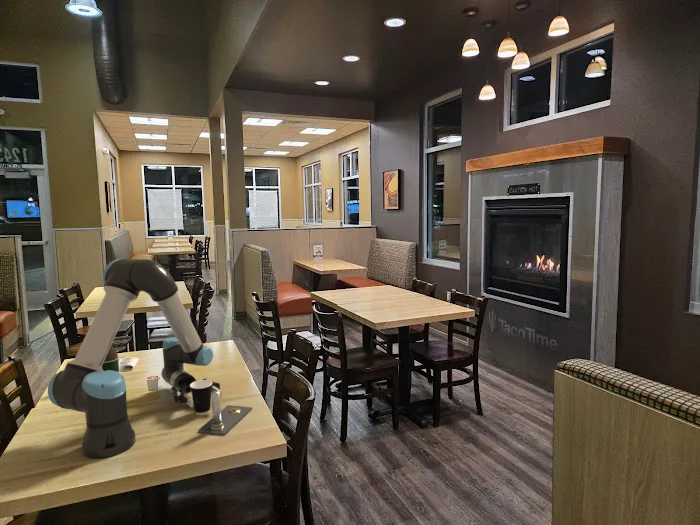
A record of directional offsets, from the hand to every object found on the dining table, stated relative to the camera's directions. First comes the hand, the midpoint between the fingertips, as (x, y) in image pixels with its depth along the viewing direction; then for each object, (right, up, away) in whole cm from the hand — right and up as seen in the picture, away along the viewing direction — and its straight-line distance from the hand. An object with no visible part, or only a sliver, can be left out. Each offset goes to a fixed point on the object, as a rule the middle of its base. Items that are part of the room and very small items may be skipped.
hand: (206, 398), depth 166 cm
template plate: (+8, -7, -3) cm, 11 cm away
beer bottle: (-53, -4, +34) cm, 63 cm away
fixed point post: (+7, -7, -9) cm, 13 cm away
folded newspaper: (-58, -2, +54) cm, 80 cm away
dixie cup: (-3, -6, +4) cm, 8 cm away
